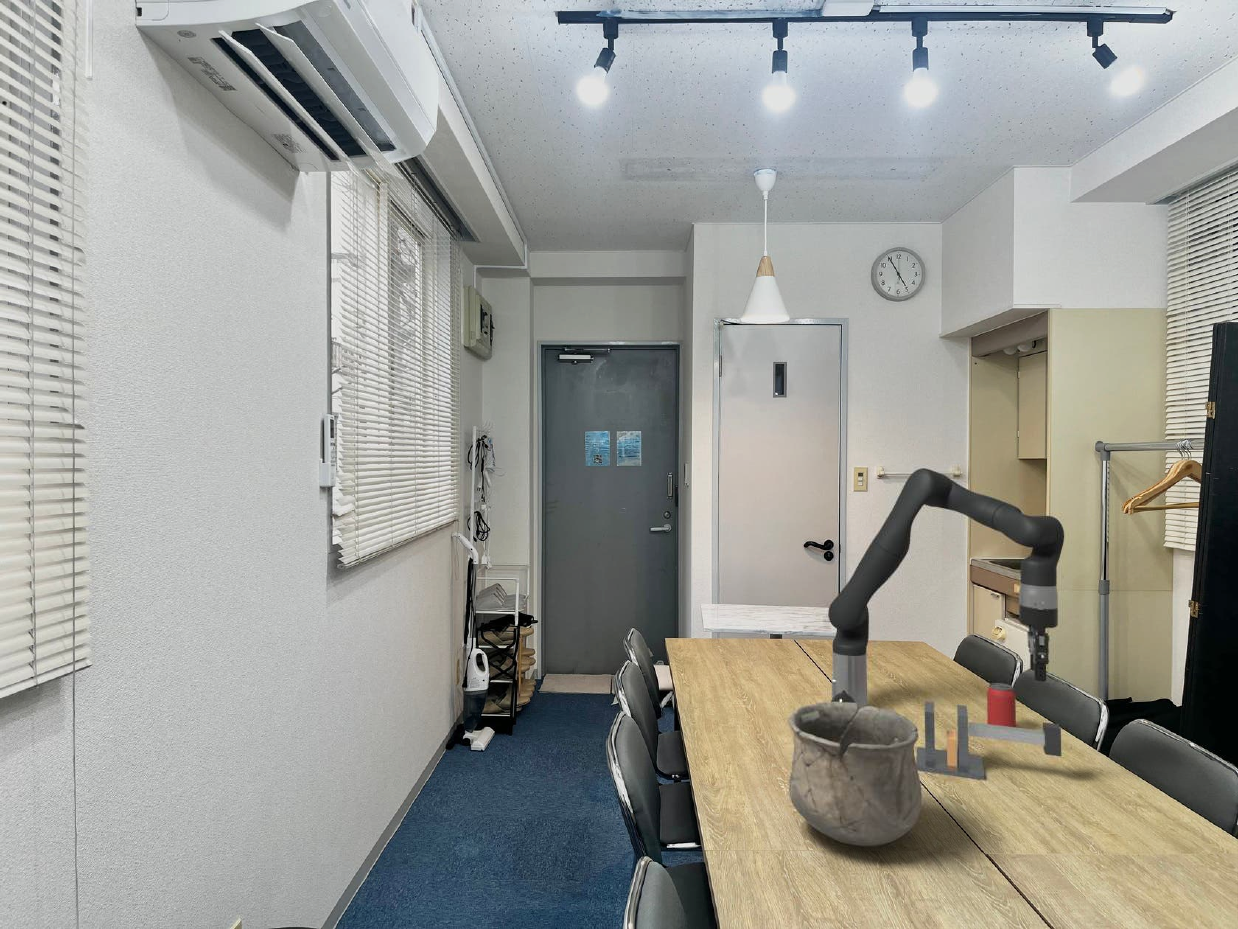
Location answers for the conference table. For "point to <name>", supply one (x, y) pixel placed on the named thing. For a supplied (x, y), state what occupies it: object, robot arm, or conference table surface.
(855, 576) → the robot arm
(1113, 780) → the conference table surface
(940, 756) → the stand
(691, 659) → the conference table surface
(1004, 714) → the beer can
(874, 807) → the pot
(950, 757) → the spacer
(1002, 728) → the shaft
